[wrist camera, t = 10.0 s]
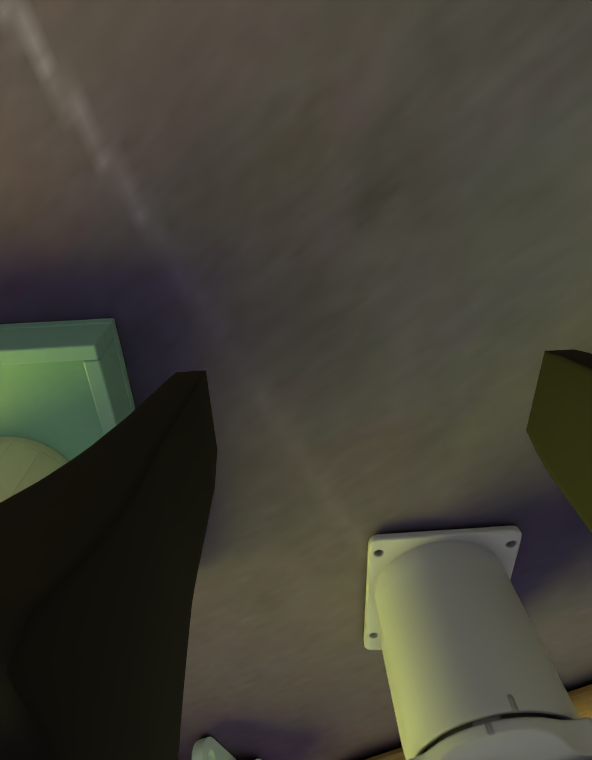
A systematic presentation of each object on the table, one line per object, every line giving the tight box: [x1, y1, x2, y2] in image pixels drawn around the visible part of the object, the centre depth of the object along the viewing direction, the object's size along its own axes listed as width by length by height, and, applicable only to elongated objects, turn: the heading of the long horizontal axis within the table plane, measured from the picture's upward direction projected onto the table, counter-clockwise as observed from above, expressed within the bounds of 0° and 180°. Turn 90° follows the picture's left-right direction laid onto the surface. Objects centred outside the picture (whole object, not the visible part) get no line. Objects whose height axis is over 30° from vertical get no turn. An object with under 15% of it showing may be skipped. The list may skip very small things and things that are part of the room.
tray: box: [0, 318, 135, 461], centre depth 22 cm, size 15×11×2 cm
